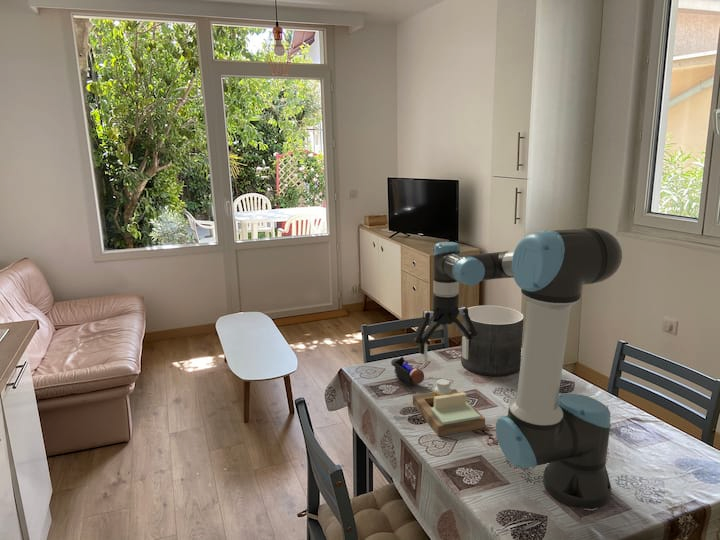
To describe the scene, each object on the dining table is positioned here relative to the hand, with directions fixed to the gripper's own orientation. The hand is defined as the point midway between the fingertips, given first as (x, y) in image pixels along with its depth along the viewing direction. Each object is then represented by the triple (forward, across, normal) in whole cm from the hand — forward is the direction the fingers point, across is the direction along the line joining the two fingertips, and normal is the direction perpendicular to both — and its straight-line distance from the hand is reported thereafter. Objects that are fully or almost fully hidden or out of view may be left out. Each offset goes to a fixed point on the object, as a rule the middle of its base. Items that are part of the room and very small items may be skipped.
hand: (444, 360), depth 158 cm
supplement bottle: (+17, 0, -1) cm, 17 cm away
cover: (+14, 0, +8) cm, 16 cm away
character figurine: (+17, +3, -24) cm, 30 cm away
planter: (+17, -32, -28) cm, 46 cm away
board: (+17, 0, +2) cm, 17 cm away
